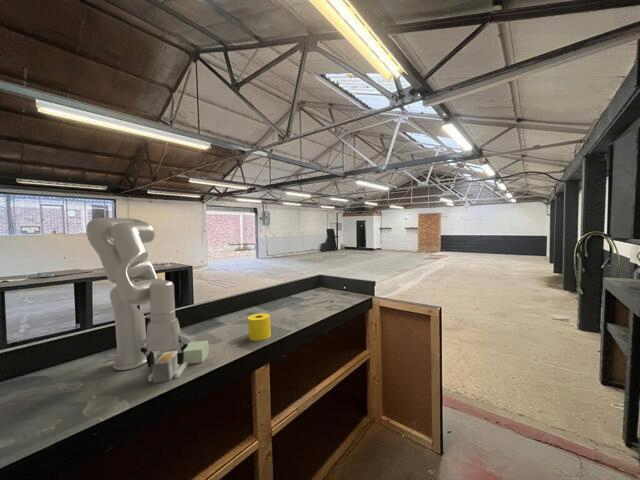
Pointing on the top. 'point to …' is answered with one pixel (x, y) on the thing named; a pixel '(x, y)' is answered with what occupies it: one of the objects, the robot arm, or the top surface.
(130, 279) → the robot arm
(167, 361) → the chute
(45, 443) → the top surface
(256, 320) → the tape roll
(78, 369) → the top surface
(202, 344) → the green box with window
